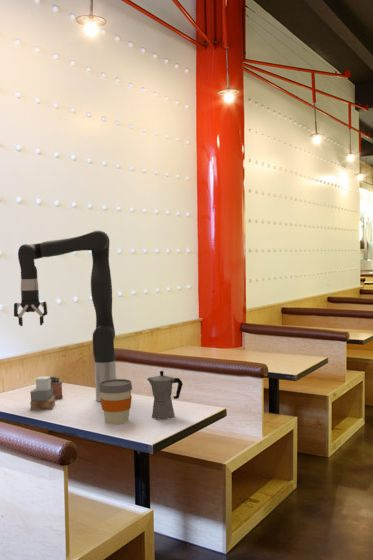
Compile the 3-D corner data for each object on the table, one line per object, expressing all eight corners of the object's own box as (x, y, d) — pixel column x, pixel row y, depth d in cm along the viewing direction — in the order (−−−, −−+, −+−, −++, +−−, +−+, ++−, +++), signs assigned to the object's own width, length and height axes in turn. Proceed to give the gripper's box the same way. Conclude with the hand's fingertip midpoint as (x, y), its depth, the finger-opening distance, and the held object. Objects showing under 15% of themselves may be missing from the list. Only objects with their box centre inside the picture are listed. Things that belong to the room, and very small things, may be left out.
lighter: (63, 397, 257) (62, 375, 256) (61, 399, 254) (60, 377, 253) (46, 397, 258) (45, 375, 257) (44, 399, 254) (43, 377, 254)
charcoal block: (52, 396, 244) (52, 387, 243) (46, 400, 237) (46, 391, 236) (37, 396, 244) (36, 387, 244) (30, 401, 237) (30, 391, 237)
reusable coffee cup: (127, 426, 209) (126, 386, 208) (95, 425, 211) (94, 385, 211) (137, 416, 221) (135, 379, 220) (107, 416, 224) (105, 378, 223)
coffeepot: (142, 418, 219) (141, 372, 218) (153, 411, 228) (152, 367, 227) (178, 421, 213) (176, 374, 212) (188, 414, 221) (187, 369, 221)
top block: (50, 387, 243) (50, 376, 243) (48, 390, 238) (47, 378, 238) (39, 388, 243) (38, 376, 243) (36, 390, 238) (35, 379, 238)
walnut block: (55, 404, 246) (54, 395, 246) (52, 410, 237) (52, 400, 237) (34, 405, 245) (33, 396, 245) (30, 411, 236) (30, 402, 236)
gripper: (47, 288, 253) (48, 323, 254) (14, 289, 252) (16, 325, 252) (44, 289, 246) (46, 325, 246) (11, 290, 244) (13, 327, 245)
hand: (31, 325), depth 249 cm, fingers open, 8 cm apart
